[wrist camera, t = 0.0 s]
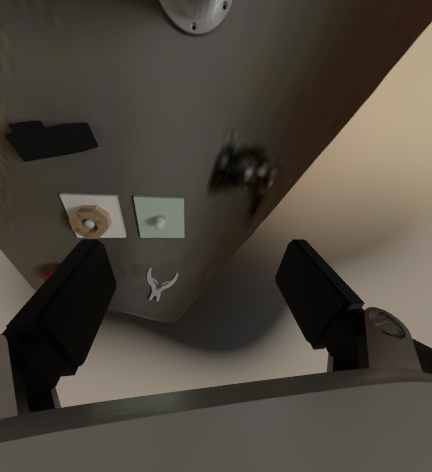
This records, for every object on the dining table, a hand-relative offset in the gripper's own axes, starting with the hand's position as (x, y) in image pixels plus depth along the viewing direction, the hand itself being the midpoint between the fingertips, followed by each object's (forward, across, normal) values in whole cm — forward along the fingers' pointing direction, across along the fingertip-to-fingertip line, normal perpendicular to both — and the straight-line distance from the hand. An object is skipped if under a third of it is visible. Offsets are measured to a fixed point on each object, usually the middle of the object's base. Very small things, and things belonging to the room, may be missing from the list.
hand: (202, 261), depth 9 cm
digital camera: (+37, +25, -1) cm, 45 cm away
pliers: (+37, +11, +44) cm, 59 cm away
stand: (+37, +24, +17) cm, 47 cm away
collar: (+36, +24, +17) cm, 46 cm away
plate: (+37, +8, +17) cm, 41 cm away
